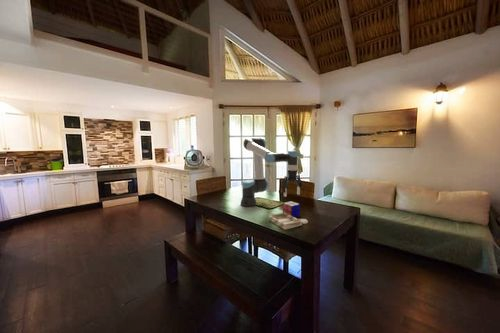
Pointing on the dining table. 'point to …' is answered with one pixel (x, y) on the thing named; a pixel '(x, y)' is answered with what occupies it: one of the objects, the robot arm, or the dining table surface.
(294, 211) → the puzzle cube
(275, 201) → the dining table surface
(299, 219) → the white round disc
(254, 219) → the dining table surface
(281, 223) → the light wood tray
